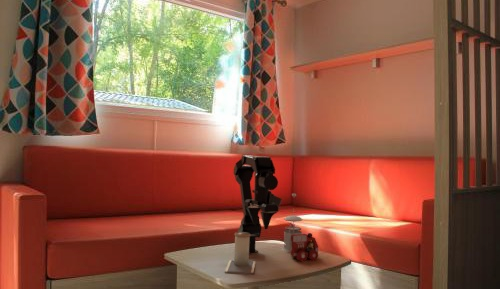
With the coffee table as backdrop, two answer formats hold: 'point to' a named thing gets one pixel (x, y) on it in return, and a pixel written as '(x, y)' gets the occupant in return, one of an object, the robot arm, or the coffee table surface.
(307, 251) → the toy fire truck
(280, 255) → the coffee table surface
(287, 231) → the french press
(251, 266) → the mat
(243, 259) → the canister
